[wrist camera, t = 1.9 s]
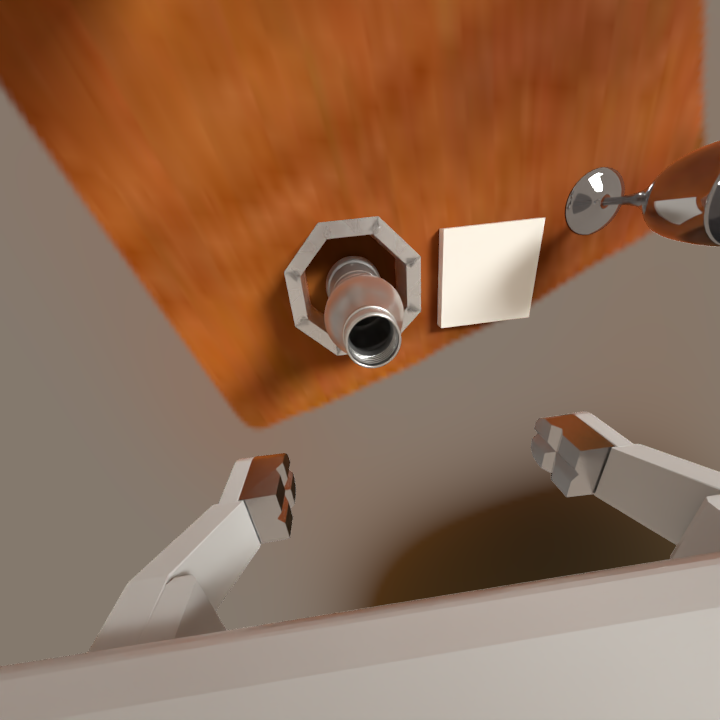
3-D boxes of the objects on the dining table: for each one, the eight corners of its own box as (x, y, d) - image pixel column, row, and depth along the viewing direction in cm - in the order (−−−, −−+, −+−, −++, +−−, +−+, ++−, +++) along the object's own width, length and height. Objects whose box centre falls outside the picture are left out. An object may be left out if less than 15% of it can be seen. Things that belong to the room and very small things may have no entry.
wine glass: (566, 249, 37) (703, 265, 23) (557, 183, 33) (712, 157, 20) (628, 219, 36) (809, 218, 22) (626, 148, 32) (837, 96, 19)
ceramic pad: (439, 228, 34) (443, 228, 33) (536, 218, 35) (545, 217, 33) (437, 324, 39) (441, 328, 38) (522, 314, 40) (528, 317, 39)
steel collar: (283, 226, 33) (274, 227, 27) (405, 213, 33) (420, 211, 28) (306, 340, 39) (302, 360, 33) (408, 328, 39) (421, 344, 34)
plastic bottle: (381, 257, 35) (435, 293, 17) (373, 311, 38) (412, 391, 20) (328, 249, 34) (326, 280, 16) (323, 305, 37) (317, 385, 19)
